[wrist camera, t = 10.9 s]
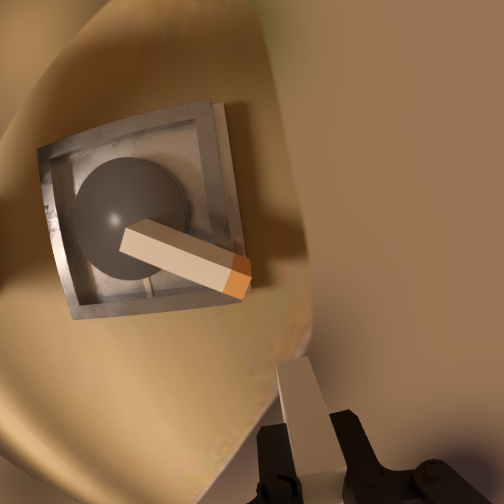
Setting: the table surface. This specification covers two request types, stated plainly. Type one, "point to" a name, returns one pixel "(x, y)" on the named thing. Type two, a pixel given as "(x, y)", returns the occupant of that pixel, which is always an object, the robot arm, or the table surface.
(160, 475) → the table surface
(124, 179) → the grey dome with handle
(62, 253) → the grey rectangular tray
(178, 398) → the table surface
